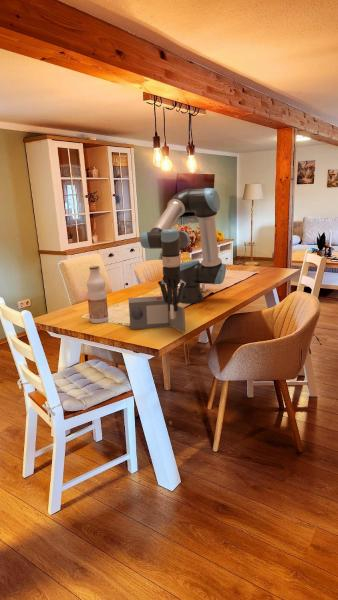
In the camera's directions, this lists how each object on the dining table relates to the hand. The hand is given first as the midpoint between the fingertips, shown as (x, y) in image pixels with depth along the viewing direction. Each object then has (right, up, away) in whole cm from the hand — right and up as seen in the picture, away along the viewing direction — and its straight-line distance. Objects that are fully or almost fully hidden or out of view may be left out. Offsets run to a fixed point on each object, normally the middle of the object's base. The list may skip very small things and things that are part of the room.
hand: (173, 318), depth 178 cm
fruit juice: (-38, -3, +25) cm, 45 cm away
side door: (+2, -5, +6) cm, 8 cm away
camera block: (-11, -4, +15) cm, 19 cm away
